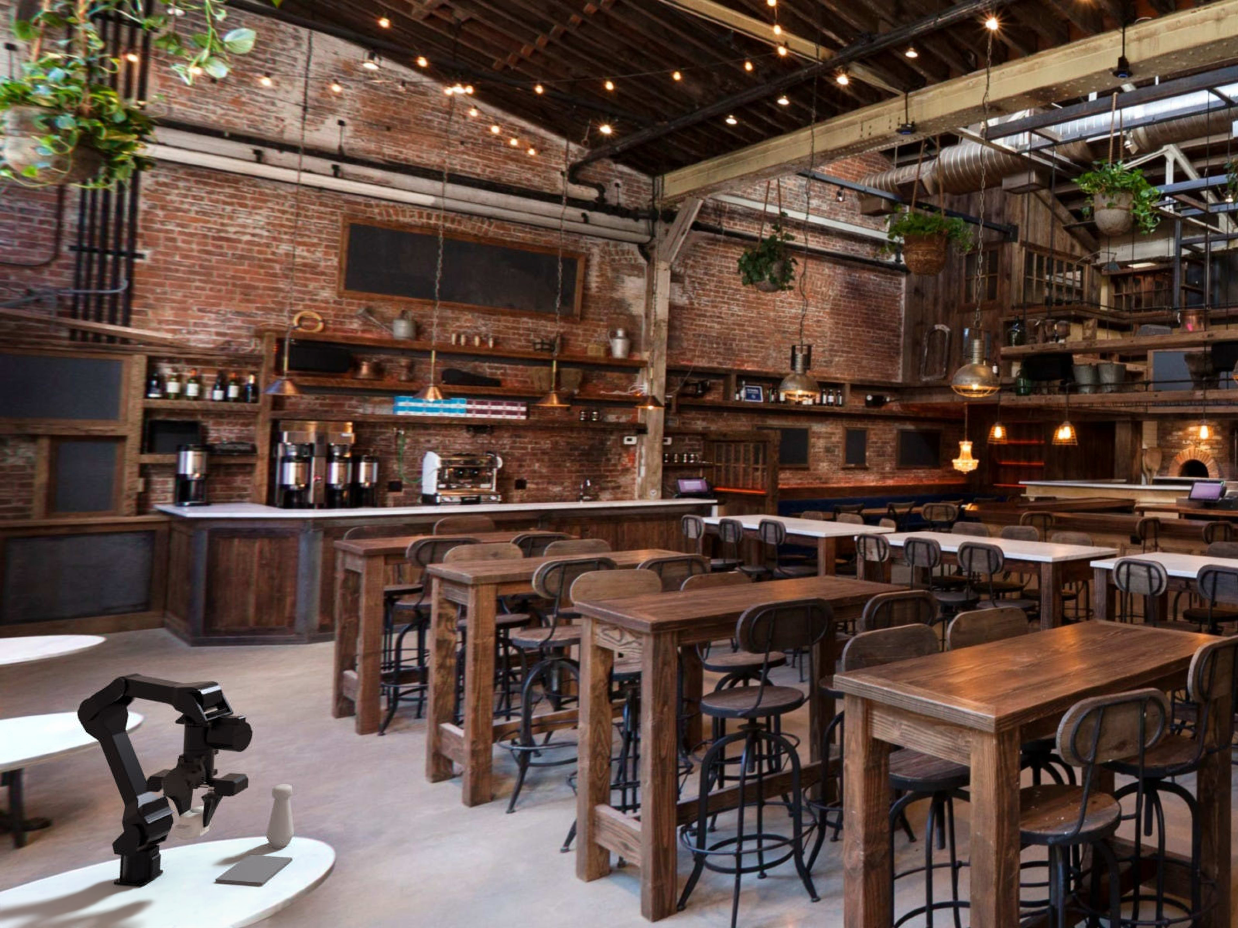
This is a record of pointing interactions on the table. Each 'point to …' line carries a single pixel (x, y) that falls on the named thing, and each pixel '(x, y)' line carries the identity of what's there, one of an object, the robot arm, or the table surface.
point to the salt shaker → (280, 817)
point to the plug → (191, 824)
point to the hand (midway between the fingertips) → (195, 826)
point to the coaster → (254, 870)
